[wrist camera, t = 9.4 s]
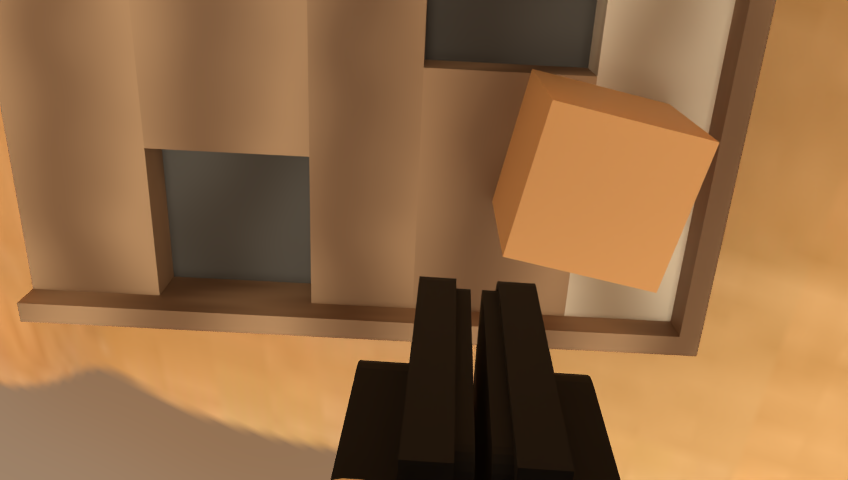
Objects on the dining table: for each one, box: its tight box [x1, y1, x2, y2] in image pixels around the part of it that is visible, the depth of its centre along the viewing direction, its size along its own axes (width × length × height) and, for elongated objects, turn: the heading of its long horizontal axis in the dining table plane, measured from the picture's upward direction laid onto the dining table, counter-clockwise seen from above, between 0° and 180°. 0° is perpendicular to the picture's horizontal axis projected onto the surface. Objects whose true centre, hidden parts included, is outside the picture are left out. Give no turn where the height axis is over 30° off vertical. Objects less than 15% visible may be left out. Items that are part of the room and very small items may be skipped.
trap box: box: [0, 0, 776, 356], centre depth 26 cm, size 26×17×3 cm, turn 87°
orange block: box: [492, 69, 720, 293], centre depth 24 cm, size 5×5×5 cm
